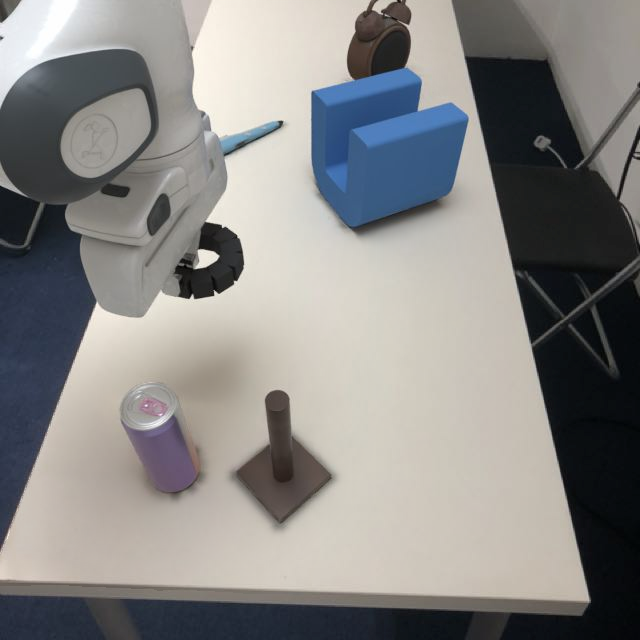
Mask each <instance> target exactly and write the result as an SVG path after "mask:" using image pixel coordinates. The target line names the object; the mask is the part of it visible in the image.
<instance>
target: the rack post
mask: <svg viewBox="0 0 640 640" xmlns="http://www.w3.org/2000/svg"><path fill="white" fill-rule="evenodd" d="M290 399H291V398H290V396H289V394H288V393H287V392H285V391H284V390H281V389H275V390H271V391H270V392H268V393H267V394H266V395H265V398H264V407H265V415H266V423H267V432H268V441H269V444H268V445H267V446H265V447H264V448H263V449H262V450H261V451H259V452H258V453H257V454H256V455H254V457H252V458H251V459H249V460H248V461H247V462H245V464H243V465H242V466H241V467H240V468H239V469H237V470H236V471H235V474H236V477H238V479H239V480H240V481H241V482H242V483H243V484H244V486H246V487H247V489H248V490H249V491H250V492H251V493H252V494H253V495H254V496H255V497H256V499H257V500H258V501H259V502H260V503H261V504H262V505H263V506H264V507H265V508H266V509H267V511H268V512H269V513H270V514H271V515H272V516H273V517H274V518H275V520H277V522H278V523H279V524H282V523H283V522H284V521H285V520H286V519H287V518H289V516H290V515H292V514H293V513H294V512H295V511H296V510H297V509H298V508H300V507H301V506H302V505H303V504H304V503H305V502H306V501H308V500H309V498H311V497H312V496H313V495H314V494H316V492H317V491H318V490H319V489H320V488H321V487H323V486H324V485H325V484H326V483H327V482H328V481H329V480H330V479H331V478H332V474H331V473H330V472H329V471H328V470H327V469H326V468H325V467H324V466H323V465H322V464H321V463H320V462H319V461H318V460H317V459H316V458H315V457H314V456H313V455H312V454H311V453H310V452H309V451H308V450H307V449H306V448H305V447H304V446H303V445H302V444H301V443H300V442H299V441H298V440H297V439H296V438H294V436H293V435H292V418H291V400H290Z"/></svg>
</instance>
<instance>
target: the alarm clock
mask: <svg viewBox="0 0 640 640" xmlns="http://www.w3.org/2000/svg"><path fill="white" fill-rule="evenodd" d="M378 1H379V0H370V1H369V3H368V5H367V8H366V10H363V11H362V12H361V13H359V15H358V16H357V17H356V19H355V22H354V31H355V32H354V34H353V35H352V38H351V40H350V43H349V46H348V49H347V53H346V68H347V71H348V74H349V76H350V77H351V79H352V80H353V81H354V80H358V79H362V78H366V77H370V76H374V75H379V74H383V73H387V72H391V71H395V70H399V69H403V68H406V66H407V64H408V61H409V57H410V54H411V48H412V38H411V37H412V36H411V33H410V30H409V29H408V26H410V24H411V21H412V16H413V15H412V11H411V8H410V7H409V6H408V5H407V4H406V2H407V0H396V1H392V2H390V3H388V4H387V6H386V7H385V8H382V9H381V10H380V13H379V12H378V11H376V10H373V8H374V6H375V4H376V3H377V2H378ZM406 25H407V26H406Z"/></svg>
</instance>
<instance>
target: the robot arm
mask: <svg viewBox="0 0 640 640" xmlns="http://www.w3.org/2000/svg"><path fill="white" fill-rule="evenodd" d="M194 81H195V64H194V58H193V51H192V46H191V39H190V33H189V28H188V24H187V18H186V14H185V10H184V5H183V1H182V0H20V1H19V3H18V5H17V6H16V7H15V8H14V10H13V11H12V12H11V14H9V16H7V17H6V19H5V20H3V21H2V22H1V21H0V186H1V187H3V188H4V189H8V190H10V191H11V192H14V193H16V194H19V195H20V196H24V197H25V198H28V199H31V200H33V201H35V202H39V203H42V204H45V205H46V204H47V205H52V206H53V205H54V206H56V205H57V206H63V205H66V209H65V211H64V212H65V213H64V217H65V221H66V224H67V226H68V228H69V230H70V231H71V232H75V233H77V234H79V235H81V239H80V243H79V255H80V259H81V263H82V267H83V270H84V273H85V276H86V278H87V281H88V284H89V287H90V289H91V291H92V294H93V296H94V298H95V301H96V302H97V304H98V306H99V307H100V308H101V309H102V310H104V311H105V312H106V313H107V312H108V313H111V314H114V315H118V316H121V317H125V318H132V319H133V318H135V319H140V318H143V317H144V316H146V315H147V313H148V311H149V309H150V308H151V307H152V305H153V304H154V302H155V300H156V299H157V297H158V295H159V294H160V292H162V293H163V294H164V295H165V296H169V297H174V298H179V297H178V296H179V294H180V292H181V290H182V289H183V287H184V283H183V276H182V275H179V274H174V272H175V268H176V266H179V267H182V268H187V269H197V268H196V267H197V266H198V265H199V263H200V255H199V252H198V251H199V250H198V247H199V241H200V234H201V230H200V229H201V228H202V226H203V225H204V223H205V222H207V220H208V218H209V217H210V215H211V214H212V212H213V210H214V209H215V208H216V206H217V205H218V203H219V202H220V200H221V198H222V197H223V195H224V194H225V192H226V190H227V185H228V179H229V178H228V177H229V176H228V170H227V165H226V160H225V156H224V155H225V154H223V150H222V146H221V142H220V139H219V138H220V137H219V135H218V134H217V132H214V131H212V124H211V118H210V116H209V114H208V113H206V112H205V111H204V110H201V109H199V108H198V105H197V103H196V101H195V98H194V92H193V91H194V90H193V88H194V87H193V86H194Z"/></svg>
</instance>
